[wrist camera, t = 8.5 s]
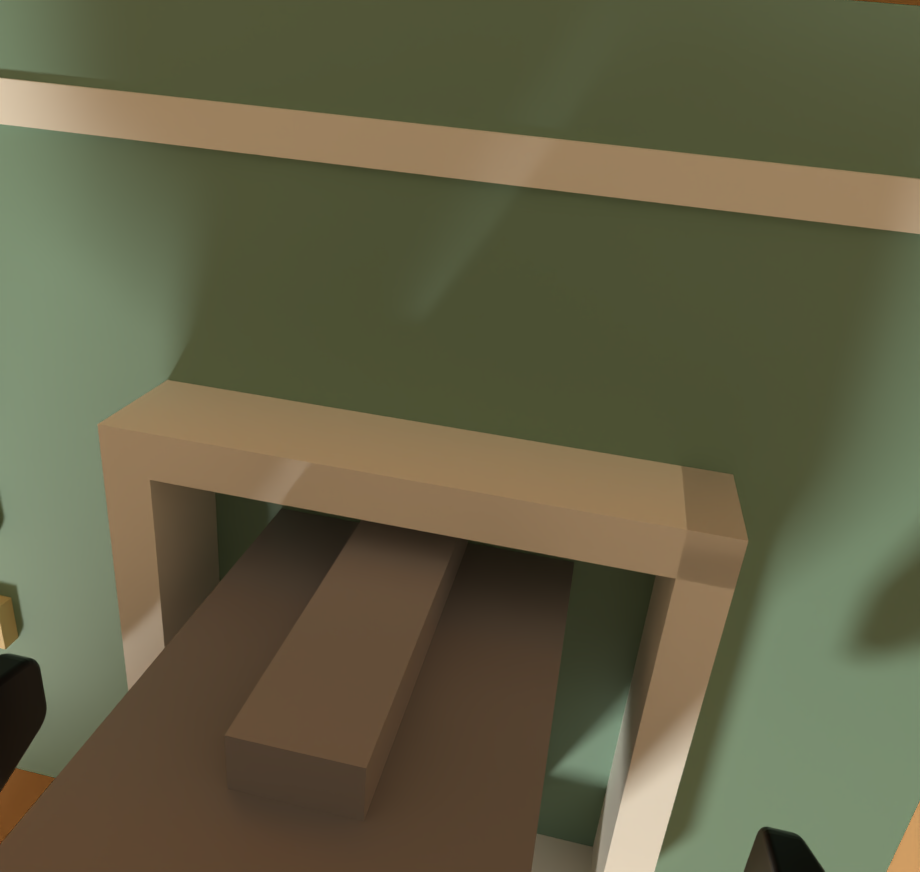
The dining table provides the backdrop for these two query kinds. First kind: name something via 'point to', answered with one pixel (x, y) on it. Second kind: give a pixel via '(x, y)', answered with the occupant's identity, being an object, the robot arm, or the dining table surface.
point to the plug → (327, 717)
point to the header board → (492, 366)
